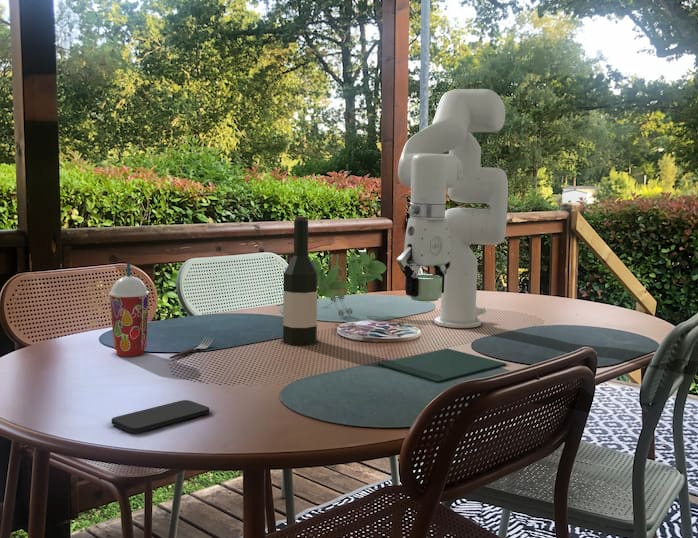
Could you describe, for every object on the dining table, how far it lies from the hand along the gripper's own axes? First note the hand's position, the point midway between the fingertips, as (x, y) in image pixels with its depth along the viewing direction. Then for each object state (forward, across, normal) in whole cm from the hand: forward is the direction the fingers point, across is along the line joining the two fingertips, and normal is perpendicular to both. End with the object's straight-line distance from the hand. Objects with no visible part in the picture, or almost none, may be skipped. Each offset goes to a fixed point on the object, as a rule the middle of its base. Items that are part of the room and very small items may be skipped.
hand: (425, 293), depth 163 cm
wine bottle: (+15, -11, +31) cm, 36 cm away
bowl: (+1, 0, 0) cm, 1 cm away
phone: (+15, -62, -1) cm, 64 cm away
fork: (+15, -37, +36) cm, 54 cm away
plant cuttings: (+15, +16, +52) cm, 56 cm away
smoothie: (+15, -48, +43) cm, 66 cm away
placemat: (+15, +1, -5) cm, 16 cm away
